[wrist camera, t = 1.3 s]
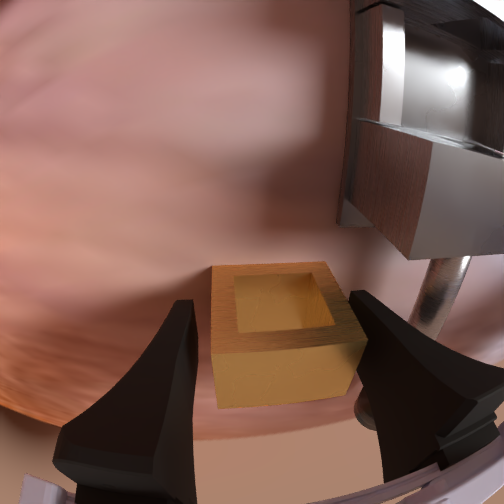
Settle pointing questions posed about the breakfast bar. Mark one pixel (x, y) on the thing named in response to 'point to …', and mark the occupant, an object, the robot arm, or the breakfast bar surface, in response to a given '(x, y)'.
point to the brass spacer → (281, 334)
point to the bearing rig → (426, 126)
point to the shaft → (426, 312)
